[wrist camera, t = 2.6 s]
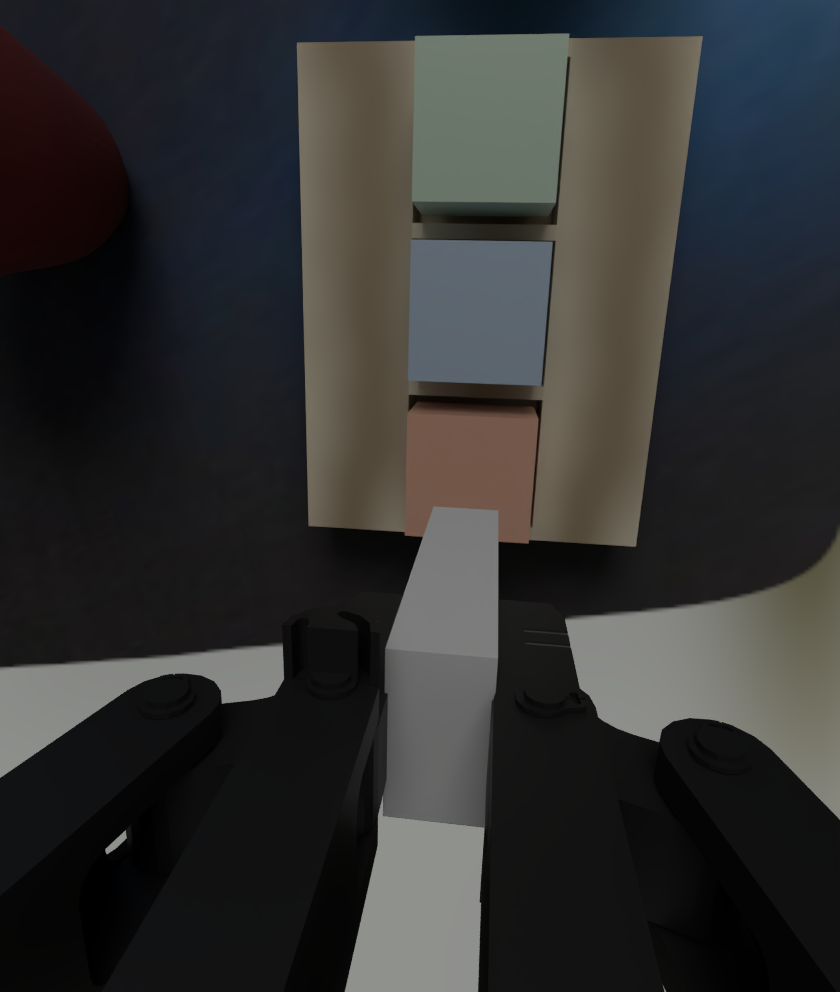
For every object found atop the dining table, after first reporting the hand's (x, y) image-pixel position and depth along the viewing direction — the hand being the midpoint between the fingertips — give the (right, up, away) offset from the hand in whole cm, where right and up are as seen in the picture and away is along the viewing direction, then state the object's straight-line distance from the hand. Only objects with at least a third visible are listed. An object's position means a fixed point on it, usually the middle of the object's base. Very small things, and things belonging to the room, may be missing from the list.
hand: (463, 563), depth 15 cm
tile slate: (+1, +8, +8) cm, 12 cm away
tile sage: (+1, +14, +7) cm, 15 cm away
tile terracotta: (+1, +3, +10) cm, 10 cm away
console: (+2, +9, +11) cm, 14 cm away
